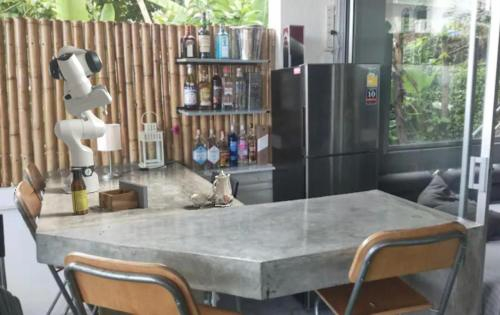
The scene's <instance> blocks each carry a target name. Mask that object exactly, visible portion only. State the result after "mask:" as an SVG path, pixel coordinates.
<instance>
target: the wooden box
mask: <svg viewBox="0 0 500 315" xmlns="http://www.w3.org/2000/svg"><path fill="white" fill-rule="evenodd" d="M98 205H99V206H98V207H99V208H100V209H104V210H106V211H108V212H112V213H115V212H120V211H121V212H122V211H125V210H129V209H130V210H131V209H135V208H138V196H137V192H136V191H132V190H128V189H124V188H122V189H119V188H117V189H110V190H105V191H99V192H98Z"/></svg>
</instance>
